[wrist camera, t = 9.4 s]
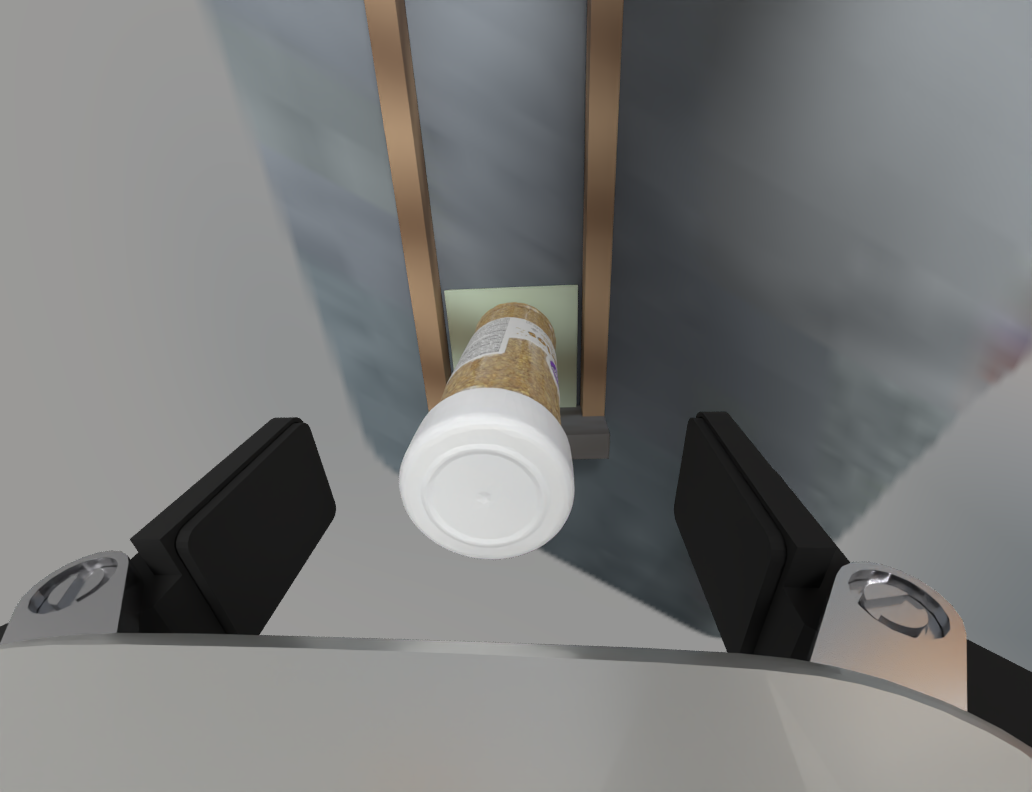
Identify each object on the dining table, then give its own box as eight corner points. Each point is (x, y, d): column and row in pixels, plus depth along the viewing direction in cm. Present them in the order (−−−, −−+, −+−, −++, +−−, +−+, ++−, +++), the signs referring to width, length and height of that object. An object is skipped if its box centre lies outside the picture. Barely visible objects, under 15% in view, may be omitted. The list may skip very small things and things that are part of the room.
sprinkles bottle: (569, 357, 22) (606, 534, 10) (498, 391, 24) (454, 587, 11) (531, 283, 21) (522, 387, 9) (457, 323, 22) (356, 465, 10)
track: (359, -109, 15) (313, -192, 12) (623, -137, 15) (646, -233, 12) (439, 429, 25) (424, 461, 22) (599, 426, 25) (608, 458, 21)
